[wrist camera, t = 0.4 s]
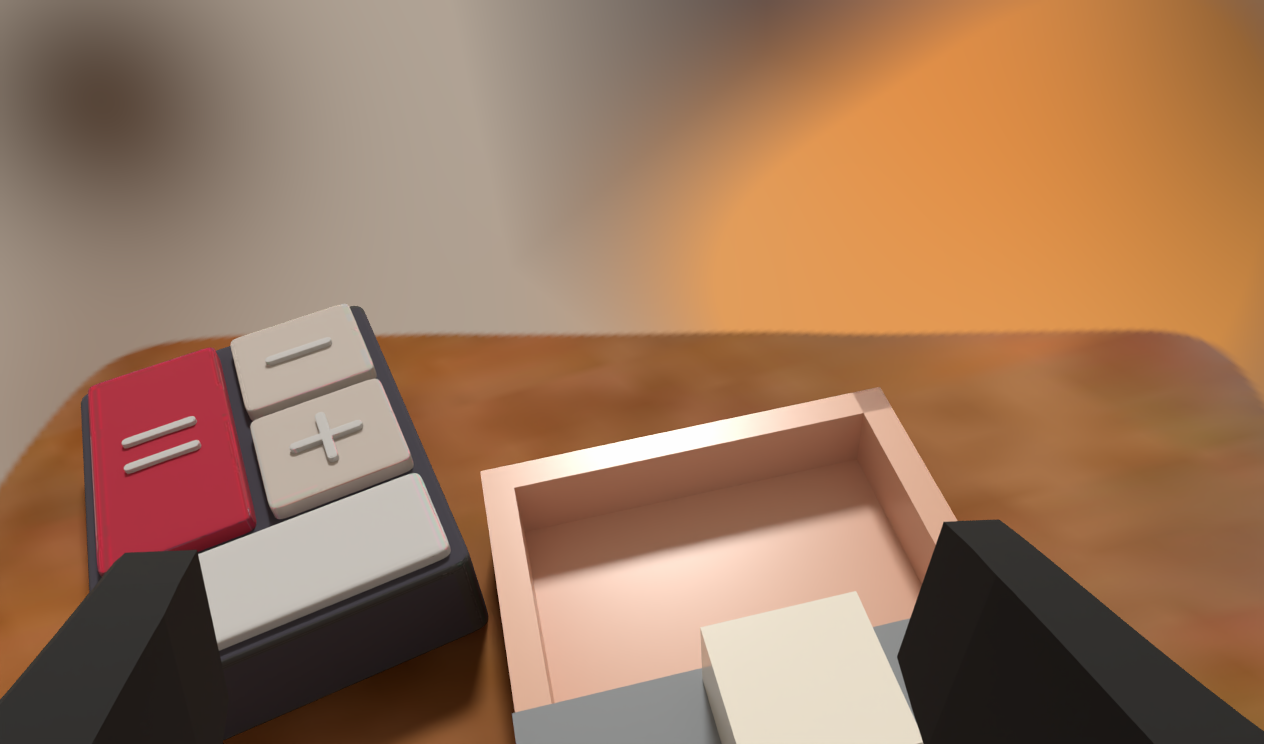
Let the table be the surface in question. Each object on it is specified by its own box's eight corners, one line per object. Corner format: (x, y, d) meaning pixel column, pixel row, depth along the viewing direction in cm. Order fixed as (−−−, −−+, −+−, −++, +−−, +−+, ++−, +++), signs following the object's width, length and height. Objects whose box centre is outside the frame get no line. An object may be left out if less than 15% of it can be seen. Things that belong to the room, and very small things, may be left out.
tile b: (910, 789, 23) (924, 741, 22) (748, 831, 23) (749, 786, 21) (847, 643, 26) (856, 590, 25) (702, 678, 26) (700, 627, 24)
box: (989, 663, 30) (1008, 609, 28) (532, 776, 28) (517, 727, 26) (871, 444, 36) (879, 386, 34) (495, 526, 35) (480, 471, 33)
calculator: (355, 286, 40) (467, 544, 29) (382, 366, 43) (494, 627, 32) (69, 379, 37) (80, 701, 27) (118, 458, 40) (146, 777, 29)
